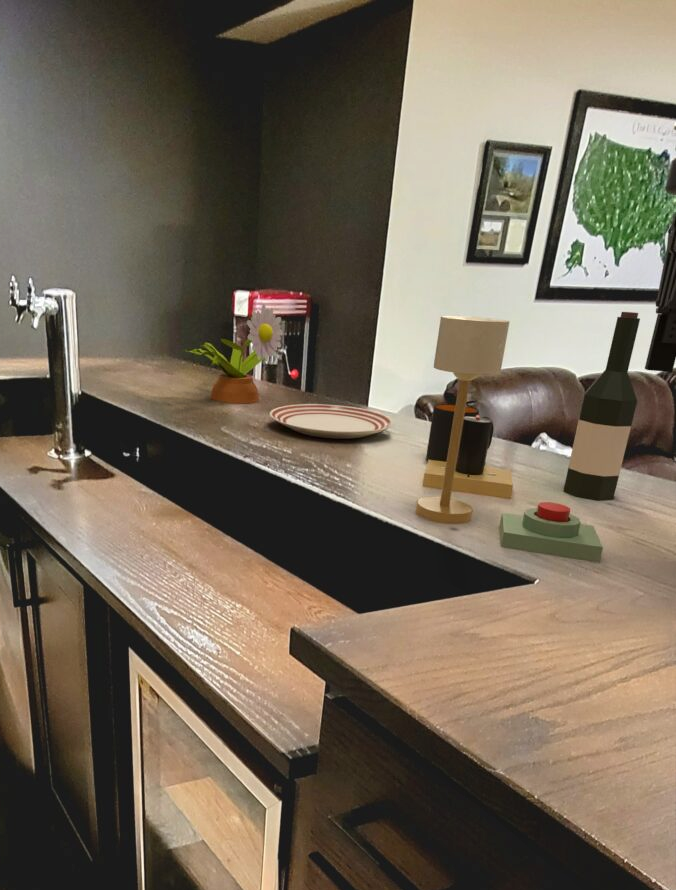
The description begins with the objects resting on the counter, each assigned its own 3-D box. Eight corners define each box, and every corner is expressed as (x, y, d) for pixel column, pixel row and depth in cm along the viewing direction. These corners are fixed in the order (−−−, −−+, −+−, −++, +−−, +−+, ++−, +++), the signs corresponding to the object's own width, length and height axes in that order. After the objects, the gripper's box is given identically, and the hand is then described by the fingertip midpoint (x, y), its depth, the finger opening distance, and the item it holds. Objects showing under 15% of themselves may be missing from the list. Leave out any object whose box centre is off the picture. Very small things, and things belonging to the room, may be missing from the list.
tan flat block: (508, 483, 127) (511, 469, 126) (510, 499, 118) (513, 483, 117) (426, 472, 131) (428, 458, 130) (422, 487, 122) (424, 472, 121)
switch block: (589, 540, 101) (596, 513, 100) (599, 563, 93) (606, 534, 91) (499, 526, 104) (504, 500, 103) (500, 547, 96) (506, 519, 95)
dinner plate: (365, 451, 144) (367, 434, 143) (246, 429, 157) (247, 414, 156) (408, 430, 166) (410, 415, 165) (301, 412, 179) (302, 399, 178)
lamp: (474, 511, 111) (508, 319, 101) (473, 529, 103) (510, 322, 93) (414, 502, 113) (442, 314, 104) (409, 519, 105) (439, 317, 96)
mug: (495, 468, 136) (505, 414, 133) (433, 465, 136) (442, 411, 132) (479, 457, 144) (488, 406, 141) (420, 454, 144) (428, 403, 140)
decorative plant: (233, 410, 177) (240, 304, 169) (167, 394, 192) (169, 297, 184) (300, 400, 196) (309, 304, 188) (234, 387, 211) (240, 298, 203)
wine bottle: (553, 490, 124) (592, 310, 114) (574, 483, 129) (613, 310, 120) (603, 503, 118) (648, 314, 108) (622, 495, 124) (668, 314, 114)
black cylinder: (483, 476, 120) (493, 421, 117) (453, 472, 122) (462, 418, 119) (483, 469, 125) (492, 416, 122) (454, 466, 126) (463, 413, 123)
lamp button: (566, 516, 99) (568, 504, 98) (569, 525, 95) (572, 513, 94) (534, 512, 100) (537, 500, 99) (536, 521, 96) (539, 508, 96)
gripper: (660, 163, 87) (615, 362, 94) (688, 144, 75) (634, 373, 83) (732, 163, 84) (679, 367, 92) (772, 145, 73) (708, 380, 80)
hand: (658, 370), depth 87 cm, fingers closed
